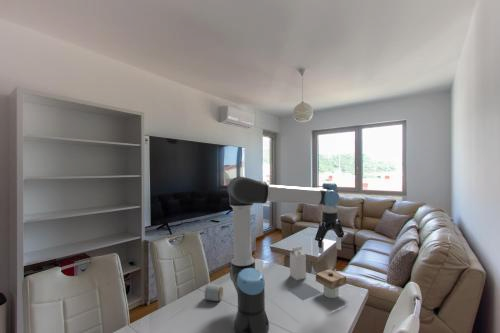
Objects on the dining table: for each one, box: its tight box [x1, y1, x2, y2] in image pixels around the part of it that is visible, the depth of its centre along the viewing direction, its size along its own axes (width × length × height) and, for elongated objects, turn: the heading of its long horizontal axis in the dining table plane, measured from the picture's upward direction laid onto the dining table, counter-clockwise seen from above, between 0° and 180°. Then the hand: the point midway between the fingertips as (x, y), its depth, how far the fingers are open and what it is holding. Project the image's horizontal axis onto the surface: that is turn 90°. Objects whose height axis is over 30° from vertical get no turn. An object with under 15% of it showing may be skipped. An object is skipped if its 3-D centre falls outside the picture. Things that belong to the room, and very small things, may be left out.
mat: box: [286, 282, 322, 301], centre depth 133 cm, size 14×13×1 cm
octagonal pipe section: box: [323, 285, 340, 299], centre depth 130 cm, size 7×7×7 cm
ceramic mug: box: [204, 283, 224, 302], centre depth 129 cm, size 11×8×8 cm
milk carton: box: [289, 246, 307, 281], centre depth 151 cm, size 7×7×19 cm
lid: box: [315, 268, 347, 289], centre depth 130 cm, size 11×11×5 cm
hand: (330, 251), depth 130 cm, fingers open, 13 cm apart
